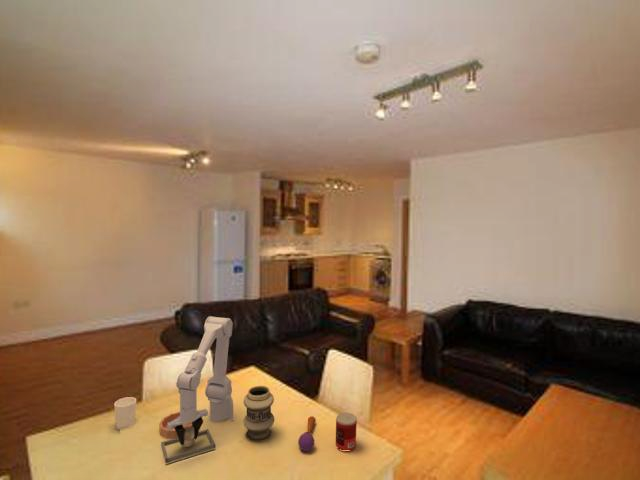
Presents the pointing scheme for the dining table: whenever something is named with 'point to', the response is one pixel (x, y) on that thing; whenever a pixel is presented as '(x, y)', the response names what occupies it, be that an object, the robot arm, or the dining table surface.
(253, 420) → the apothecary jar
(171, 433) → the orange shallow faceted dish
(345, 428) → the canned food
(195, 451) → the charcoal tray
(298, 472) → the dining table surface
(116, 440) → the dining table surface
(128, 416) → the white cup
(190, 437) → the taupe rounded cylinder
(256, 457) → the dining table surface
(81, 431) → the dining table surface
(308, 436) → the purple maraca
